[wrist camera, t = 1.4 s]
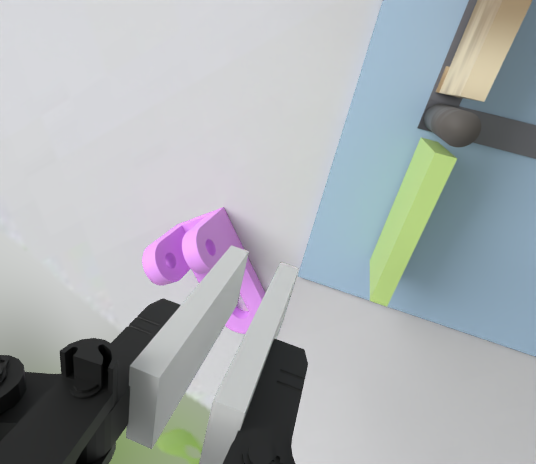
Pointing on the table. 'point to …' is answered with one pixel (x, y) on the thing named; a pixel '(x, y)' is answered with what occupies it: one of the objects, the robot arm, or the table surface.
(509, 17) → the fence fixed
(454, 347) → the table surface
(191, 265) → the bracket
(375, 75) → the board
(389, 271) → the fence panel
